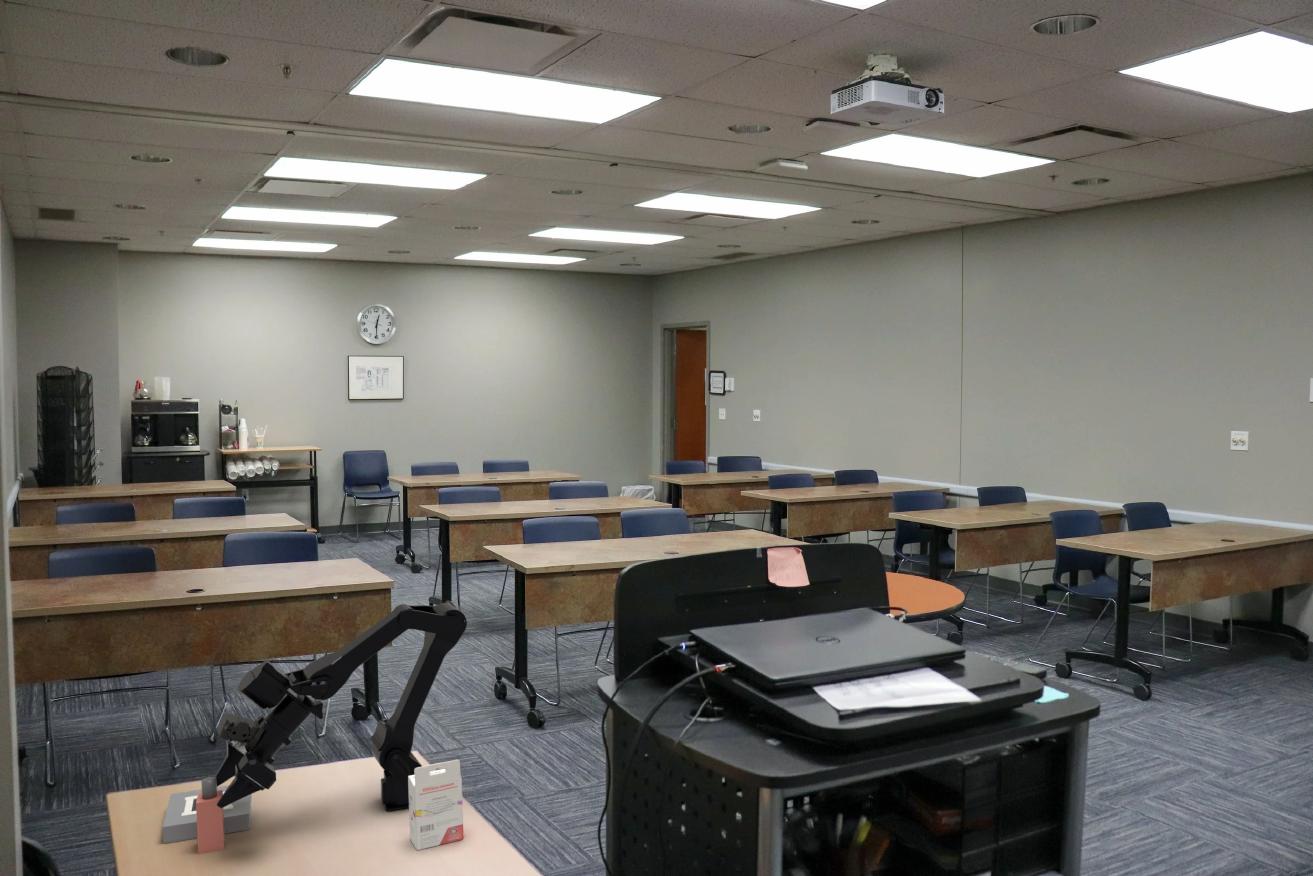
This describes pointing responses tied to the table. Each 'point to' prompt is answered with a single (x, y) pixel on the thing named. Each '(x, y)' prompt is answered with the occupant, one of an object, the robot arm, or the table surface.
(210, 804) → the plug
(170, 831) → the socket plate
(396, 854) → the table surface
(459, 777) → the ink cartridge box
